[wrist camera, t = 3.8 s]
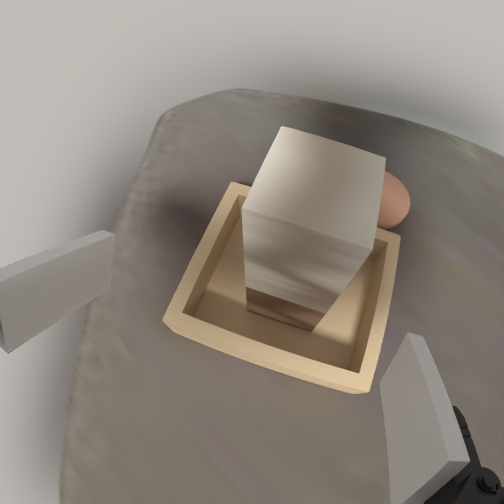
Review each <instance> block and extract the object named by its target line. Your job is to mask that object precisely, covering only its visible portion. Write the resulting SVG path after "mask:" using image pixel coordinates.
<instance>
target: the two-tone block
mask: <svg viewBox="0 0 504 504" xmlns="http://www.w3.org/2000/svg"><path fill="white" fill-rule="evenodd" d="M385 163H386V158H385V157H382V156H379V155H376V154H373V153H371V152H368V151H365V150H362V149H359V148H356V147H353V146H350V145H347V144H343V143H340V142H337V141H334V140H331V139H327V138H324V137H321V136H317V135H314V134H310V133H306V132H303V131H299V130H295V129H292V128H288V127H284V126H281V128H280V130H279V132H278V134H277V136H276V138H275V140H274V142H273V144H272V146H271V148H270V150H269V152H268V154H267V156H266V158H265V160H264V162H263V164H262V167H261V169H260V171H259V173H258V175H257V177H256V179H255V181H254V183H253V185H252V187H251V189H250V191H249V193H248V195H247V197H246V200H245V202H244V204H243V206H242V227H243V246H244V266H245V284H246V302H247V311H250V312H252V313H255V314H258V315H261V316H264V317H267V318H270V319H272V320H275V321H278V322H281V323H284V324H287V325H290V326H293V327H296V328H299V329H302V330H305V331H308V332H312V331H313V330H314V328H315V327H316V326H317V325H318V323H319V322H320V321H321V319H322V318H323V317H324V316H325V314H326V313H327V312H328V310H329V309H330V308H331V306H332V305H333V304H334V303H335V301H336V300H337V299H338V297H339V296H340V295H341V293H342V292H343V291H344V289H345V288H346V287H347V285H348V284H349V282H350V281H351V280H352V278H353V277H354V276H355V274H356V273H357V271H358V270H359V269H360V267H361V266H362V264H363V263H364V262H365V260H366V259H367V257H368V256H369V254H370V253H371V252H372V250H373V245H374V239H375V233H376V228H377V222H378V215H379V209H380V202H381V195H382V188H383V180H384V172H385Z"/></svg>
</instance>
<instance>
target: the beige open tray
mask: <svg viewBox="0 0 504 504" xmlns="http://www.w3.org/2000/svg"><path fill="white" fill-rule="evenodd" d="M250 189H251V187H249V186H246V185H242V184H239V183H235V182H231V183H230V185H229V187H228V189H227V191H226V193H225V195H224V196H223V198H222V200H221V202H220V204H219V206H218V208H217V210H216V212H215V214H214V216H213V218H212V219H211V221H210V223H209V225H208V227H207V229H206V231H205V233H204V235H203V237H202V239H201V241H200V243H199V245H198V247H197V249H196V251H195V253H194V255H193V257H192V259H191V261H190V263H189V265H188V267H187V269H186V271H185V273H184V275H183V277H182V279H181V282H180V284H179V286H178V288H177V290H176V292H175V294H174V296H173V298H172V300H171V302H170V305H169V307H168V309H167V311H166V313H165V315H164V317H163V320H162V321H163V322H164V323H165V324H166V325H167V326H168V327H169V328H170V329H171V330H172V331H173V332H175V333H177V334H179V335H182V336H184V337H186V338H189V339H191V340H194V341H196V342H198V343H201V344H203V345H206V346H208V347H211V348H213V349H216V350H219V351H221V352H224V353H226V354H229V355H232V356H234V357H237V358H240V359H242V360H245V361H248V362H251V363H253V364H256V365H259V366H262V367H265V368H268V369H271V370H274V371H277V372H280V373H283V374H286V375H289V376H292V377H295V378H298V379H301V380H304V381H308V382H311V383H314V384H318V385H321V386H324V387H328V388H331V389H335V390H338V391H342V392H346V393H349V394H359V393H366V392H369V390H370V387H371V383H372V380H373V376H374V372H375V369H376V365H377V361H378V357H379V353H380V349H381V345H382V341H383V336H384V332H385V327H386V323H387V318H388V313H389V308H390V303H391V297H392V292H393V286H394V280H395V274H396V268H397V261H398V254H399V247H400V239H401V236H400V235H397V234H394V233H392V232H389V231H386V230H383V229H381V228H378V227H377V228H376V233H375V239H374V245H373V250H372V252H371V253H370V254H369V256H368V257H367V259H366V260H365V262H364V263H363V264H362V266H361V267H360V269H359V270H358V271H357V273H356V274H355V276H354V277H353V278H352V280H351V281H350V282H349V284H348V285H347V287H346V288H345V289H344V291H343V292H342V293H341V295H340V296H339V297H338V299H337V300H336V301H335V303H334V304H333V305H332V306H331V308H330V309H329V310H328V312H327V313H326V314H325V316H324V317H323V318H322V319H321V321H320V322H319V323H318V325H317V326H316V327H315V328H314V330H313V331H312V332H308V331H305V330H302V329H299V328H296V327H293V326H290V325H287V324H284V323H281V322H278V321H275V320H272V319H270V318H267V317H264V316H261V315H258V314H255V313H252V312H250V311H247V302H246V284H245V266H244V246H243V227H242V206H243V204H244V202H245V200H246V197H247V195H248V193H249V191H250Z"/></svg>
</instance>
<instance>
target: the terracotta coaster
mask: <svg viewBox="0 0 504 504" xmlns="http://www.w3.org/2000/svg"><path fill="white" fill-rule="evenodd" d="M409 209H410V197H409V194H408V192H407V190H406V188H405V186H404V185H403V184H402V183H401V182H400V180H398V179H397V178H396V177H395V176H393V175H392V174H390V173H388V172H386V171H385V172H384V180H383V188H382V195H381V202H380V209H379V215H378V222H377V227H378V228H381V229H383V230H387V229H392V228H394V227H396V226H398V225H399V224H400V223H401V222H402V221H403V219H404V218H405V217H406V215H407V214H408V212H409Z"/></svg>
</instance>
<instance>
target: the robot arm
mask: <svg viewBox="0 0 504 504" xmlns="http://www.w3.org/2000/svg"><path fill="white" fill-rule="evenodd" d="M114 238H115V235H114V234H112V233H109V232H106V231H104V230H101V231H99V232H95V233H92V234H89V235H87V236H84V237H81V238H78V239H75V240H73V241H70V242H67V243H64V244H62V245H60V246H56V247H54V248H51V249H48V250H46V251H43V252H40V253H38V254H36V255H33V256H30V257H28V258H25V259H23V260H20V261H18V262H15V263H13V264H10V265H8V266H6V267H3V268H0V347H1V348H2V349H4V350H5V351H6V352H7V353H10V352H12V351H13V350H15V349H16V348H18V347H19V346H21V345H22V344H23V343H25V342H27V341H28V340H29V339H31V338H33V337H34V336H36V335H37V334H39V333H40V332H42V331H43V330H45V329H47V328H48V327H50V326H51V325H53V324H54V323H56V322H57V321H59V320H61V319H62V318H64V317H65V316H67V315H68V314H70V313H72V312H73V311H75V310H76V309H78V308H80V307H81V306H83V305H84V304H86V303H88V302H89V301H91V300H92V299H94V298H96V297H97V296H99V295H101V294H102V293H104V292H105V291H107V290H109V289H110V288H111V274H112V260H113V249H114ZM379 385H380V392H381V399H382V407H383V415H384V423H385V432H386V441H387V452H388V464H389V478H390V496H391V504H423V503H424V504H504V488H503V487H501V483H500V480H499V478H498V476H497V475H496V474H495V473H494V472H493V471H492V470H490V469H488V468H484V467H481V464H480V461H479V458H478V455H477V452H476V449H475V446H474V443H473V440H472V438H470V437H471V434H470V432H469V429H467V428H468V426H467V423H466V421H465V418H464V416H463V415H462V413H461V412H460V411H459V409H458V408H457V407H456V406H452V405H451V402H450V400H449V397H448V395H447V392H446V389H445V387H444V384H443V382H442V379H441V377H440V374H439V372H438V370H437V367H436V365H435V363H434V360H433V358H432V356H431V353H430V351H429V349H428V347H427V344H426V342H425V340H424V338H423V336H420V335H416V334H413V333H409V332H407V334H406V336H405V338H404V340H403V342H402V344H401V346H400V348H399V349H398V351H397V353H396V355H395V357H394V359H393V360H392V362H391V364H390V366H389V367H388V369H387V371H386V373H385V374H384V376H383V378H382V379H381V381H380V383H379Z"/></svg>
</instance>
